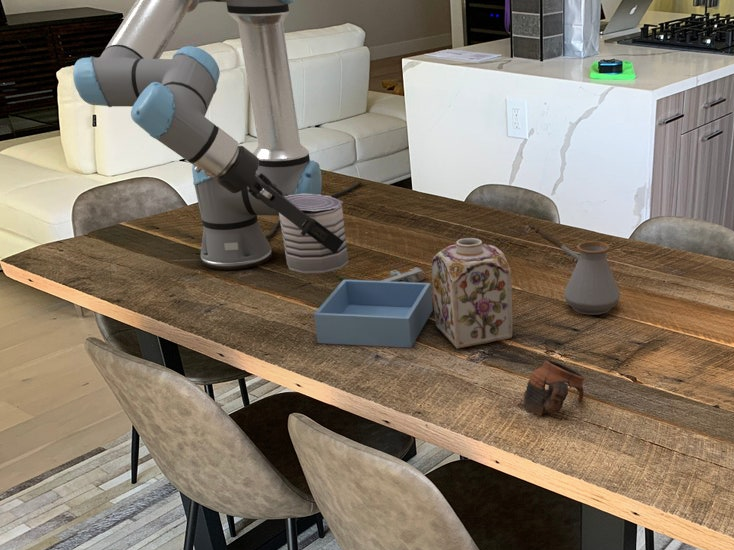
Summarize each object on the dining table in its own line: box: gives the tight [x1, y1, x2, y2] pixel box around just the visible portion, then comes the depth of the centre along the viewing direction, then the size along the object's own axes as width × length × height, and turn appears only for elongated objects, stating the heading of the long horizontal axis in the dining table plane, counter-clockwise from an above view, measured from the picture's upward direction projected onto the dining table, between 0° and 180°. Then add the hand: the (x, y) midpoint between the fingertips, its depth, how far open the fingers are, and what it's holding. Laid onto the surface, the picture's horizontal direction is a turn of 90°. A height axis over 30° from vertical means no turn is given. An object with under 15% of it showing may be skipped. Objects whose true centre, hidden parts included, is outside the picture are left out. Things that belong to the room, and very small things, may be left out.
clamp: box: [380, 266, 425, 283], centre depth 184 cm, size 15×2×10 cm
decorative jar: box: [430, 237, 514, 350], centre depth 161 cm, size 12×12×18 cm
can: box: [279, 193, 350, 275], centre depth 159 cm, size 11×11×12 cm
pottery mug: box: [521, 359, 585, 417], centre depth 139 cm, size 12×10×8 cm
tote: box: [313, 278, 434, 349], centre depth 166 cm, size 18×18×6 cm
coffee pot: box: [524, 222, 621, 316], centre depth 175 cm, size 21×12×15 cm, turn 59°
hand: (329, 237), depth 161 cm, fingers closed on can, 11 cm apart
